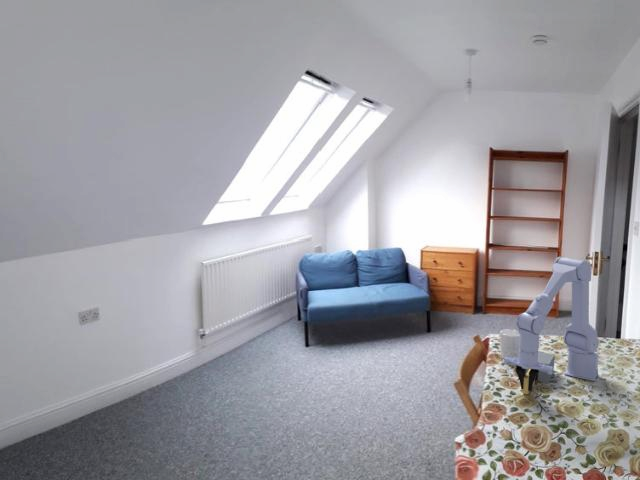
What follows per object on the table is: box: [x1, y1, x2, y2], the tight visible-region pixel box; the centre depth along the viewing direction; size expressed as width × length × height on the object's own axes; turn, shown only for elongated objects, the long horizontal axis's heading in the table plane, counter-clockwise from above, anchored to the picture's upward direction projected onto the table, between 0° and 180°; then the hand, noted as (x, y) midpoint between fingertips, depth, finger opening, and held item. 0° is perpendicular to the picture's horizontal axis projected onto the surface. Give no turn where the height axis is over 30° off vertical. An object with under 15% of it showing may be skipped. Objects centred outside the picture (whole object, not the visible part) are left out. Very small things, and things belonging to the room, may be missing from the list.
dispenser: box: [525, 351, 555, 384], centre depth 169 cm, size 9×11×7 cm
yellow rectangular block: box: [522, 369, 536, 396], centre depth 159 cm, size 2×10×6 cm, turn 145°
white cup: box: [499, 328, 520, 360], centre depth 185 cm, size 8×8×10 cm
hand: (526, 389), depth 157 cm, fingers closed on yellow rectangular block
